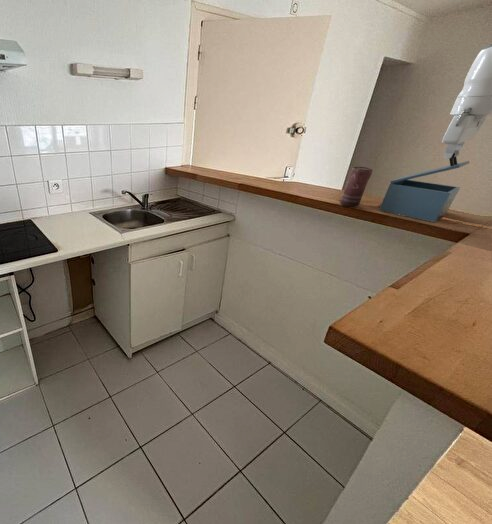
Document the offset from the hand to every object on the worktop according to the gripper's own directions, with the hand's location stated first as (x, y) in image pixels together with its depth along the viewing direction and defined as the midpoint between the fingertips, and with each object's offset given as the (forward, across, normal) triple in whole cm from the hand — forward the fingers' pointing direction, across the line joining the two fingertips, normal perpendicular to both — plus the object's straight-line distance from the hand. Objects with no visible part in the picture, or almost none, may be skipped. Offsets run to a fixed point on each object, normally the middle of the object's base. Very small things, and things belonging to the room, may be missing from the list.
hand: (449, 157), depth 90 cm
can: (+19, -8, +20) cm, 29 cm away
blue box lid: (+6, 0, +3) cm, 6 cm away
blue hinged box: (+19, 0, +3) cm, 20 cm away
